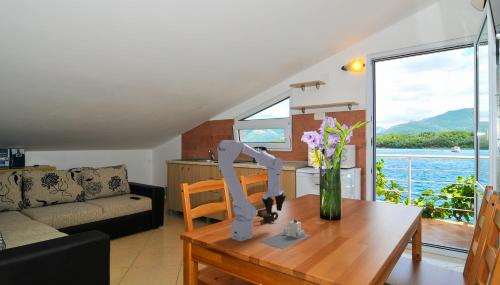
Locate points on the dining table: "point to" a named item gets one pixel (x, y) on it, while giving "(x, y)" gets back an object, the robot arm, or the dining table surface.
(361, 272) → the dining table surface
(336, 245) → the dining table surface
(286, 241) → the board
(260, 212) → the pottery mug
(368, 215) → the dining table surface
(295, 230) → the connector
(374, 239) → the dining table surface
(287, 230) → the end holder
